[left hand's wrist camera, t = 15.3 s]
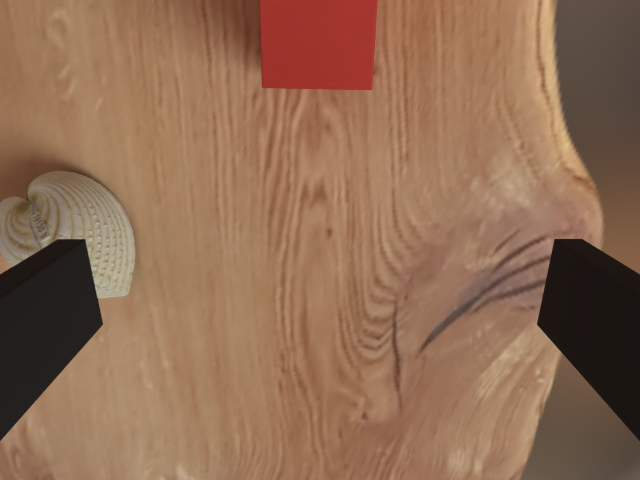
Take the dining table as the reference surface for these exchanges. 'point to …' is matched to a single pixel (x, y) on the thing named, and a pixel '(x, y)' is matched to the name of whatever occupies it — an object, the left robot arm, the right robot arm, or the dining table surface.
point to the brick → (318, 43)
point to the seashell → (71, 227)
